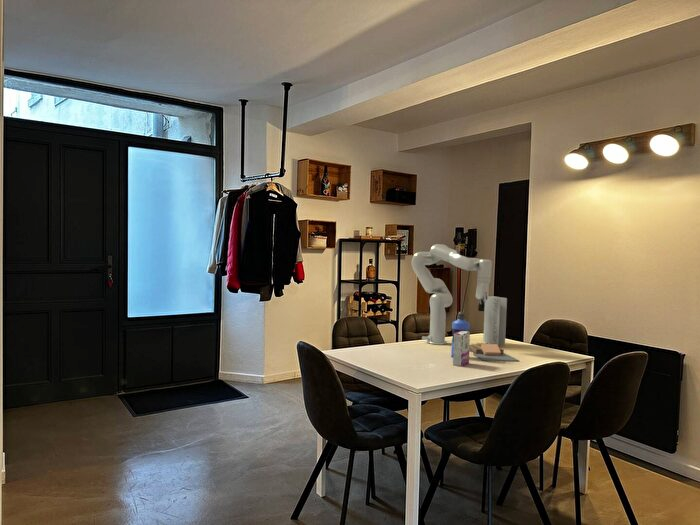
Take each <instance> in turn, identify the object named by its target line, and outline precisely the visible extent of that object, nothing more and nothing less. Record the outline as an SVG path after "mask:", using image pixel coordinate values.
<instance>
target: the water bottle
mask: <svg viewBox="0 0 700 525" xmlns="http://www.w3.org/2000/svg"><path fill="white" fill-rule="evenodd" d="M457 314H458V315H457V316H456V317H457V319H456V320H453V321H452V322H451V328H452V339H451V352H450V353H451V355H450V356H451V358H452V359H453V352H454V334H455V333H457V332H460V331H466V332H470V324H471V323H470V322H468V320H466V314H465V312H464V311H459V312H458V313H457Z"/></svg>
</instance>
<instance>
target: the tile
mask: <svg viewBox="0 0 700 525" xmlns="http://www.w3.org/2000/svg"><path fill="white" fill-rule="evenodd" d="M480 346H481V348H482V351H483V353H484V355H497V356H500V354H501V352H500V349H499V348H500V347H499V345H497V344H487V343H482V344H481V345H480Z"/></svg>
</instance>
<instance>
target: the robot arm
mask: <svg viewBox="0 0 700 525" xmlns="http://www.w3.org/2000/svg"><path fill="white" fill-rule="evenodd" d="M441 260H442V261H444V262H446V263H449V264H451V265H453V266H454V267H457V268H459V269H462V270H464V271H471V272H472V271H475V272H476V271H477V278H476V282H477V283H476V290H475V298H476V299H477V301H478V306H477V310H478V312H485V302H486V300H487V299H488V296H489V295H490V294H489V293H490V289H489V288H490V284H491V277H492V267H493V266H492V264H493V263H492V260H491V259H485V258H484V259H482V258H477V257H468V256H464V255H461V254H459V253H458V251H457V250H456V249H453V248H450V247H449V246H448V245H446V244H442V243H441V244H440V243H436V244H432V246H431V247H430V250H429V251H417V252H415V253H414V254H413V256H412V258H411V267H412V270H413V272H414V274H415V276H416V277H417V278H418V281H419V282H420V284H421V286H422V288H423V289H424V291H425V292H426V293H428V294H432V295H431V296H430V298H429V307H430V310H429V311H430V313H429V314H430V315H429V316H430V319H429V334H428V335H426V336H421V340H425V341H426V343H428V344H431V345H442V346H443V345H447V344H448V341H447V340H446V323H447V322H446V317H447V315H446V309H445V308H448V307H450V306H452V304H453V296H452V293H451V292H450V291H449V289H448V287H447V285H446V284H445V282H444V280H442V279H440V278H437V277H434V276H433V275H432V273H431V271H430V270H429V269H428V268H427V267H426V266H430V265H434V264H436V263H438V262H439V261H441Z"/></svg>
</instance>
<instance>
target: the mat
mask: <svg viewBox="0 0 700 525" xmlns="http://www.w3.org/2000/svg"><path fill="white" fill-rule="evenodd" d="M472 355H473V356H474V357H476V358H477V359H479V360H480V361H482V362H518V361H519V362H520V360H519V359H517V358H515V357H513V356H511V355H510V354H505V353H504V354H500V356H497V355H484V354H474V353H472Z"/></svg>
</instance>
